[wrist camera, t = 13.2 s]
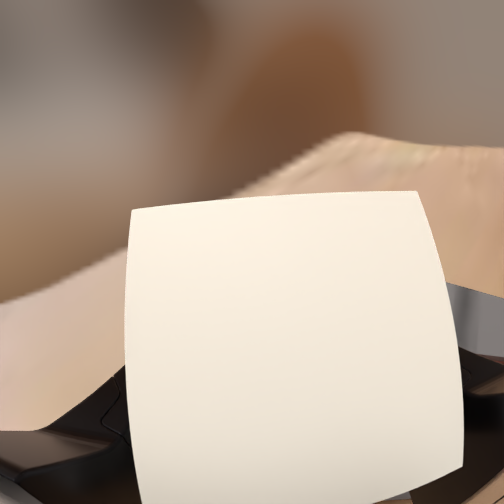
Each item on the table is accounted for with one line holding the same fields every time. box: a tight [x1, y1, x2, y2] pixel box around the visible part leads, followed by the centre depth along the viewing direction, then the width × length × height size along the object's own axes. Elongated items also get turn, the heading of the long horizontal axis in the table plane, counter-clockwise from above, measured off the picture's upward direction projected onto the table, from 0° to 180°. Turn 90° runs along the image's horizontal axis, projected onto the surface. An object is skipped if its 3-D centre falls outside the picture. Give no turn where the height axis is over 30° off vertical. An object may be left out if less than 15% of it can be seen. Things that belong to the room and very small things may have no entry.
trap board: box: [382, 282, 504, 501], centre depth 14 cm, size 32×14×2 cm, turn 75°
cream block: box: [125, 191, 464, 504], centre depth 8 cm, size 5×5×10 cm
